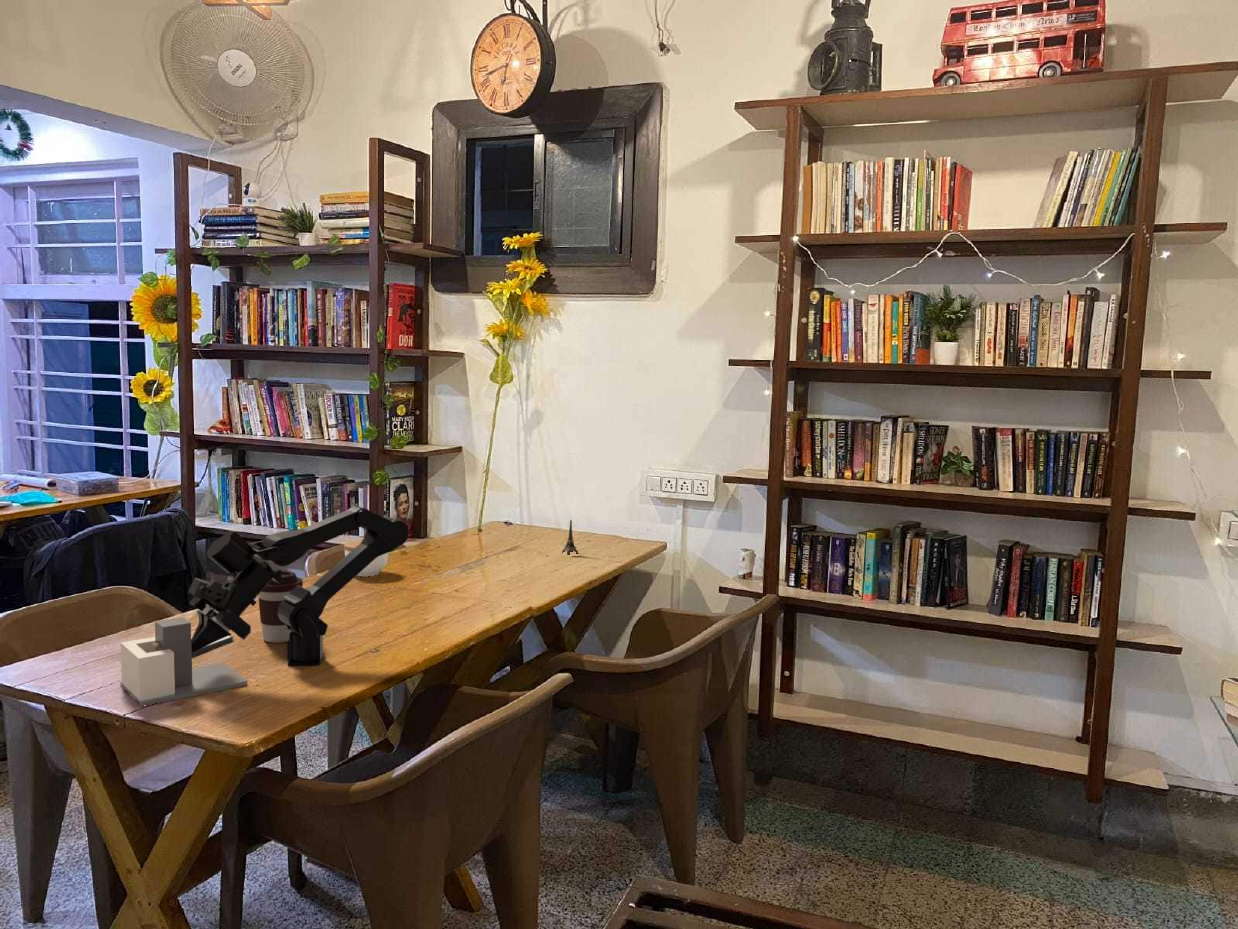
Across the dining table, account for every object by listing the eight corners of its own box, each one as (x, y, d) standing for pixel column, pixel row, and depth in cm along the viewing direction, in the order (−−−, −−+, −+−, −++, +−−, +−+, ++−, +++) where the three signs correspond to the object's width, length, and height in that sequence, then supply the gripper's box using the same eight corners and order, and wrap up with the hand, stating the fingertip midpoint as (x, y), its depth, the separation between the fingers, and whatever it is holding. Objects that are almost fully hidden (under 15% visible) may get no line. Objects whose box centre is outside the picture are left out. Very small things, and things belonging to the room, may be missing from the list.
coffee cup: (311, 634, 217) (310, 570, 216) (288, 647, 208) (287, 580, 206) (272, 631, 219) (271, 567, 218) (247, 643, 210) (246, 577, 208)
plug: (183, 676, 185) (182, 617, 183) (192, 683, 181) (190, 622, 180) (151, 683, 181) (149, 622, 179) (159, 690, 177) (157, 628, 176)
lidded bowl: (392, 569, 284) (392, 533, 283) (383, 579, 272) (383, 541, 271) (350, 568, 284) (350, 532, 283) (339, 578, 271) (339, 540, 270)
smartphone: (203, 638, 215) (149, 657, 200) (203, 631, 215) (149, 650, 199) (236, 642, 212) (183, 662, 197) (236, 636, 212) (183, 655, 197)
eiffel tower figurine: (596, 555, 315) (597, 515, 314) (589, 561, 305) (590, 520, 304) (553, 552, 319) (554, 513, 317) (544, 558, 309) (545, 517, 307)
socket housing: (221, 666, 194) (220, 624, 193) (247, 685, 184) (246, 641, 183) (120, 685, 181) (119, 641, 180) (141, 707, 171) (140, 660, 170)
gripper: (199, 554, 191) (142, 616, 185) (232, 571, 177) (172, 639, 171) (239, 587, 197) (185, 648, 191) (274, 606, 183) (217, 672, 177)
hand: (188, 651), depth 182 cm, fingers closed, pressing on plug
